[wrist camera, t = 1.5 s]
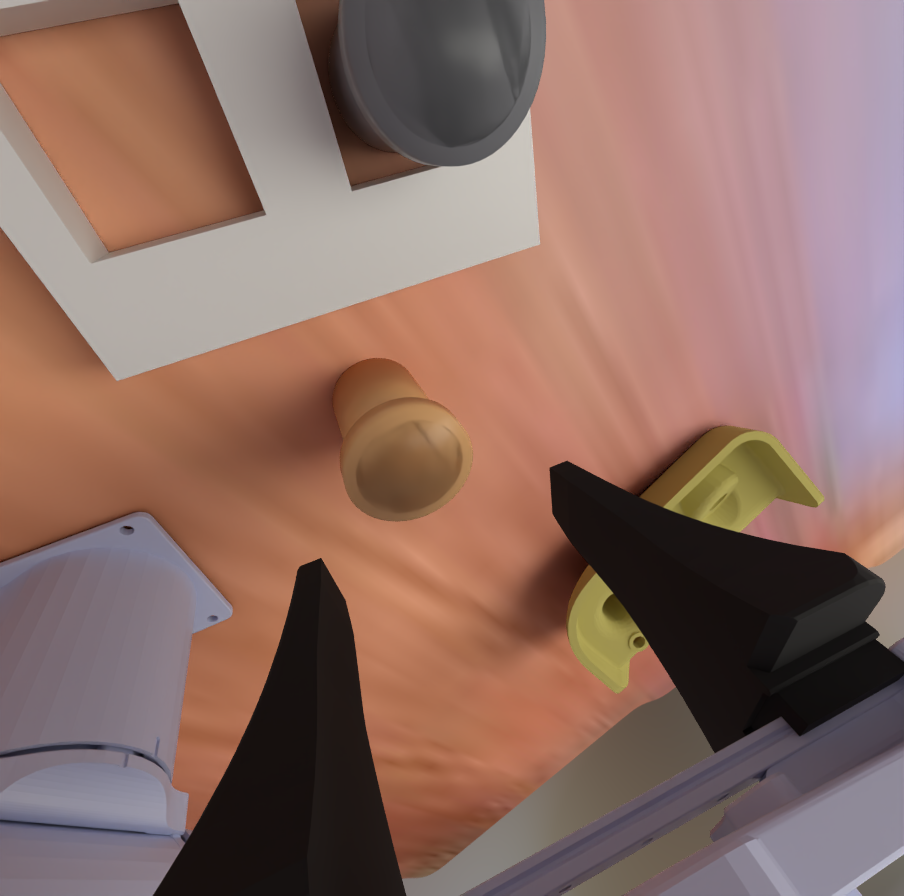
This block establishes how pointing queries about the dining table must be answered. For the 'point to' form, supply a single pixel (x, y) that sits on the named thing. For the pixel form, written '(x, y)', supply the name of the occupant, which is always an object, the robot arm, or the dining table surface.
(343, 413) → the tan rubber stopper
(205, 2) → the housing
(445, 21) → the charcoal flared cup
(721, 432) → the plastic component
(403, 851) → the dining table surface
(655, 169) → the dining table surface
